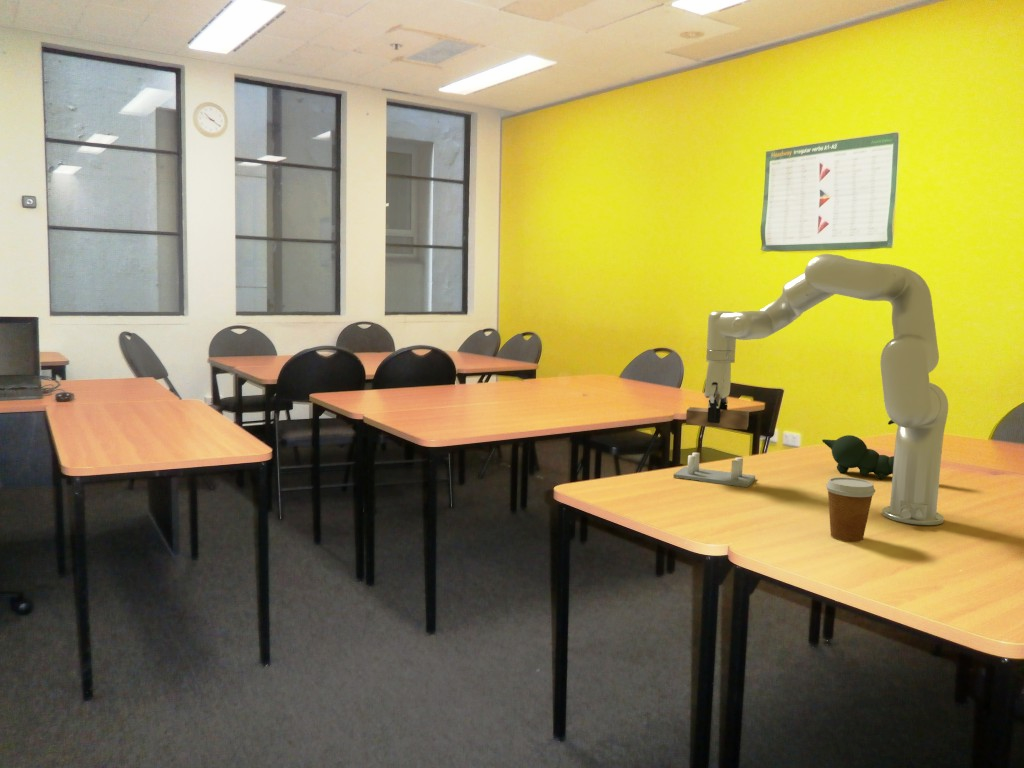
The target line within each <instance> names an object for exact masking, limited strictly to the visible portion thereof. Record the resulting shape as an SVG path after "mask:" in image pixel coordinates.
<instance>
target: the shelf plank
mask: <svg viewBox="0 0 1024 768" xmlns="http://www.w3.org/2000/svg"><path fill="white" fill-rule="evenodd" d="M749 416H750V411H747V410H735V409H734V410H733V409H727V410H723V409H720V422H719V423H710V422H708V407H696V406H693V407H692V406H690V407H688V408H687V409H686V416H685V417H686V419H685V426H686V425H688V426H696V427H697V426H699V427H709V428H722V429H734V430H748V427H749V419H750V417H749Z"/></svg>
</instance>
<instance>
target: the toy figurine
mask: <svg viewBox="0 0 1024 768" xmlns="http://www.w3.org/2000/svg"><path fill="white" fill-rule="evenodd" d="M887 424H888V425H889V426H890V425H893V424H895V423H894V422H893V421H892V420H891V419H890V420H889V421H888V422H887ZM821 441H822V443H823V444H825V445H826V447H828V448H829V449H830V450H831V456H832V458H833V460H834V461H835V462H836V463H837V465H836V470H837V472H839V473H842V474H845V473H847V472H848V471H849V469H855V468H857V469H858V470H859V474H860V475H862V476H864V477H867V476H868V475H869V474H871V473H874V475H875V476H876V477H877V479H879V480H884V479H885V477H888V476H891V475H893V464H894V455H893V456H888V455H885V454H880V453H878V452H877V450H874V449H872V448H868V446H867V445H866V443H865V442H864V441H863V439H861V438H859V437H858V436H855V435H853V434H852V435H851V434H849V435H848V434H847V435H842V436H840V437H838V438H837V439H822V440H821Z"/></svg>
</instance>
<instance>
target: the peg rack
mask: <svg viewBox="0 0 1024 768" xmlns="http://www.w3.org/2000/svg"><path fill="white" fill-rule="evenodd" d="M743 462H744V458H743V457H735V460H731V469H730V470H731V471H724V470H714V469H706V468H700V452H692V453H691V454H689V455H688V456H687V466H683V467H681V469H679V470H677V471H676V472H674V473H673V477H678V478H677V479H680V478H684V479H683V480H687V479H691V480H690V481H695V480H699V481H698V482H702V481H704V483H709V484H710V483H711V484H719V485H726V486H732V485H733V486H734V487H740V486H741V487H742V488H749V486H750V485H751V484H752V483H753V482H754V481H755V480H756V475H754V474H753V475H752V474H746V473H745V474H744V473H743ZM741 487H740V488H741Z"/></svg>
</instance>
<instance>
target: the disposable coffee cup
mask: <svg viewBox="0 0 1024 768" xmlns="http://www.w3.org/2000/svg"><path fill="white" fill-rule="evenodd" d="M825 484H826V485H825V487H826V490H827V497H828V511H829V512H828V513H829V527H830V528H829V529H830V531H829V532H830V537H832V538H833V539H836V540H839V541H842V542H849V543H850V542H851V543H857V542H858V543H859V542H862V541H864V537H865V532H866V527H867V522H868V519H869V518H868V517H869V513H870V507H871V504H872V499H873V496H874V495H875V492H876V489H875V487H874V483H872V482H871V481H869V480H865V479H861V478H855V477H847V476H844V477H843V476H837V477H836V476H835V477H831V478H828V481H827V483H825Z"/></svg>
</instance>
